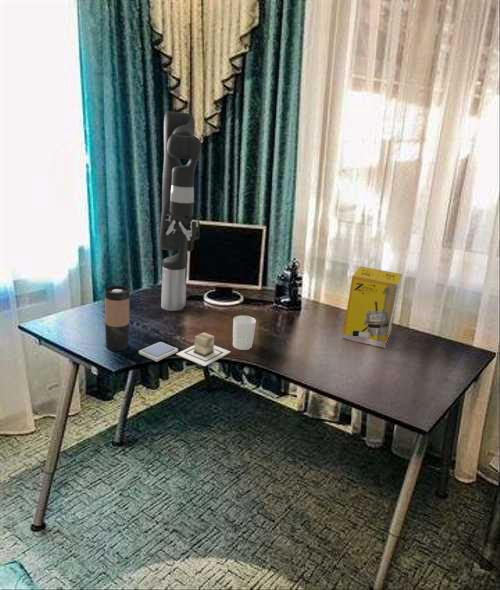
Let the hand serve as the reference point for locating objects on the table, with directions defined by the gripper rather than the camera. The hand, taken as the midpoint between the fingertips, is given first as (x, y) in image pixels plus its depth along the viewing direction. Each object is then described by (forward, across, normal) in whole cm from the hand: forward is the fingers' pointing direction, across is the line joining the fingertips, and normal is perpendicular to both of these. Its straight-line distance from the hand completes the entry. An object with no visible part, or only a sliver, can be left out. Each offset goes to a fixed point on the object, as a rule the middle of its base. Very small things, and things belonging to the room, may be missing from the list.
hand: (179, 248), depth 164 cm
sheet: (+32, -16, +4) cm, 36 cm away
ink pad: (+32, -5, +14) cm, 35 cm away
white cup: (+32, -22, -10) cm, 40 cm away
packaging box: (+32, -52, -52) cm, 80 cm away
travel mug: (+32, +8, +20) cm, 39 cm away
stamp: (+32, -16, +4) cm, 36 cm away
